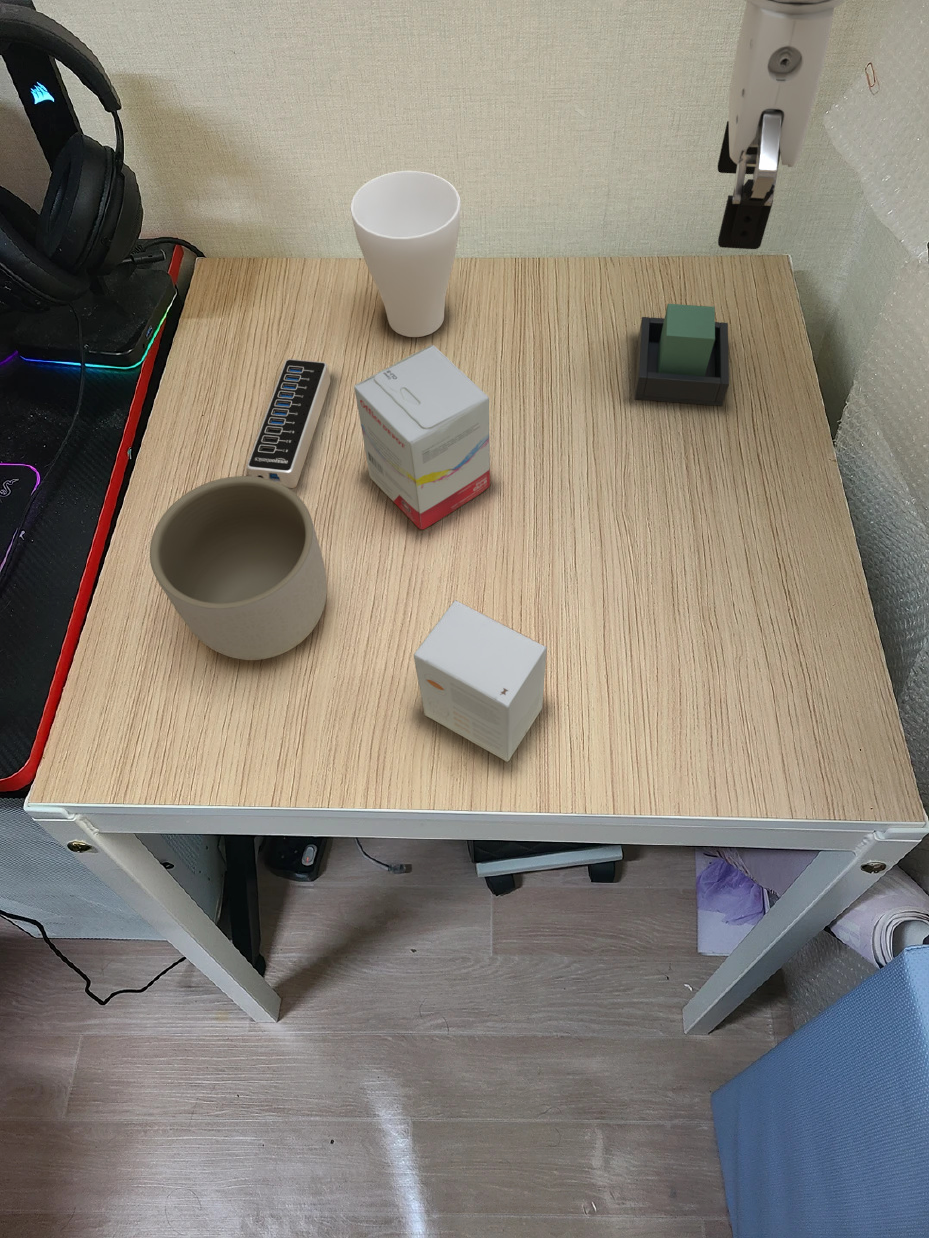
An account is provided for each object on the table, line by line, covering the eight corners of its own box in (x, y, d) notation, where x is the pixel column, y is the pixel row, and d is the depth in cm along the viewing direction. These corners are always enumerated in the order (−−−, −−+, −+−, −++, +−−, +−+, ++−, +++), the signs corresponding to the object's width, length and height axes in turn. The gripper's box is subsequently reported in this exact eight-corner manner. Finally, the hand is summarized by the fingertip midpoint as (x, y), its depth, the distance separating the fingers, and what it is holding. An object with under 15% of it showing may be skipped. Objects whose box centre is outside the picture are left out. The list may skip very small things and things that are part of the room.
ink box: (493, 487, 82) (493, 395, 71) (419, 533, 79) (408, 445, 69) (439, 433, 85) (431, 338, 75) (366, 476, 83) (349, 384, 73)
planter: (340, 665, 73) (317, 596, 63) (190, 686, 72) (145, 619, 63) (331, 545, 79) (309, 466, 69) (193, 563, 78) (152, 485, 69)
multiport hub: (331, 379, 89) (328, 361, 87) (296, 488, 82) (291, 472, 80) (290, 375, 90) (285, 358, 88) (251, 483, 83) (245, 467, 81)
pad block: (702, 354, 89) (714, 306, 84) (701, 386, 87) (715, 339, 82) (657, 351, 89) (667, 303, 84) (656, 382, 87) (666, 335, 82)
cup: (381, 281, 97) (365, 165, 85) (473, 291, 96) (470, 175, 84) (356, 346, 92) (336, 233, 80) (453, 358, 90) (448, 244, 79)
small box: (543, 709, 70) (550, 646, 61) (507, 765, 68) (509, 708, 59) (459, 662, 72) (454, 596, 63) (422, 715, 70) (411, 653, 61)
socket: (721, 345, 90) (728, 322, 88) (722, 406, 86) (729, 384, 83) (637, 339, 91) (642, 316, 88) (634, 399, 87) (638, 377, 84)
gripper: (872, 31, 50) (790, 281, 65) (848, -98, 59) (780, 148, 74) (740, 27, 51) (688, 275, 66) (736, -100, 60) (691, 144, 75)
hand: (737, 207), depth 70 cm, fingers open, 9 cm apart
